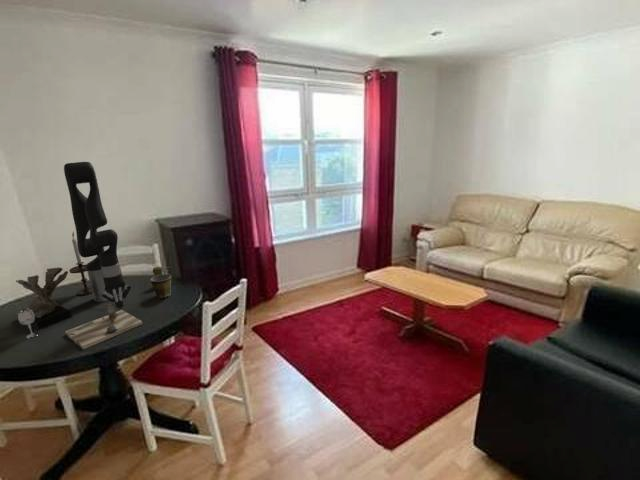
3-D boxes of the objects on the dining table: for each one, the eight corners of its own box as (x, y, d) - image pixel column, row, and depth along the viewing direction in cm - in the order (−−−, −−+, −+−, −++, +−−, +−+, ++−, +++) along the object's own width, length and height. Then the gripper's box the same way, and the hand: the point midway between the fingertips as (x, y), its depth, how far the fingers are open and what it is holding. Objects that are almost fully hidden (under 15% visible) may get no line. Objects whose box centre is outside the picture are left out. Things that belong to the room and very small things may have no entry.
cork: (162, 288, 202) (158, 269, 199) (152, 287, 204) (148, 269, 201) (168, 283, 208) (165, 265, 205) (159, 283, 209) (155, 265, 206)
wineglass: (30, 332, 161) (22, 308, 157) (43, 331, 161) (36, 307, 158) (20, 339, 155) (12, 314, 152) (35, 338, 156) (27, 313, 152)
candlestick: (93, 286, 210) (78, 228, 200) (101, 290, 203) (87, 230, 193) (72, 293, 201) (56, 232, 191) (80, 297, 195) (64, 235, 185)
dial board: (65, 334, 158) (64, 331, 157) (122, 312, 175) (121, 309, 175) (83, 349, 145) (82, 345, 145) (142, 324, 163) (142, 320, 163)
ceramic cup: (178, 293, 194) (175, 276, 191) (161, 300, 186) (158, 282, 183) (163, 289, 201) (160, 272, 198) (146, 296, 193) (143, 278, 190)
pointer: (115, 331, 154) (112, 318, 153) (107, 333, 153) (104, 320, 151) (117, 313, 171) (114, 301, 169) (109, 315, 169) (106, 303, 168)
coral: (17, 317, 177) (4, 276, 171) (64, 300, 192) (54, 262, 186) (36, 330, 163) (23, 286, 157) (85, 311, 178) (75, 271, 172)
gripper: (124, 267, 171) (131, 300, 176) (93, 276, 162) (101, 311, 167) (130, 270, 166) (137, 305, 171) (98, 280, 157) (107, 316, 162)
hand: (120, 308), depth 169 cm, fingers closed
